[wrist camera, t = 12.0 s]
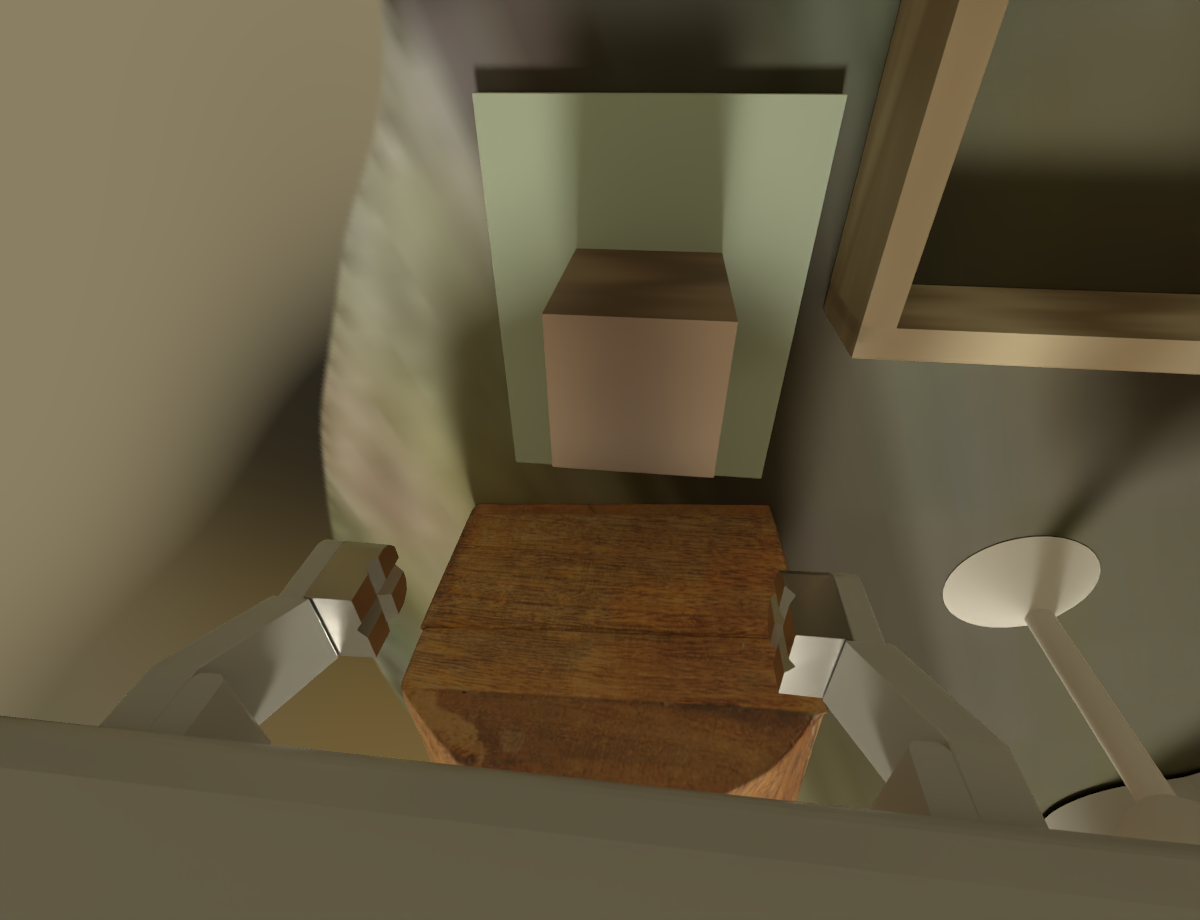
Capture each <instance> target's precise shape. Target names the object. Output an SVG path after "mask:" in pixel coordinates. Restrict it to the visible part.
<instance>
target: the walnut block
mask: <svg viewBox="0 0 1200 920" xmlns="http://www.w3.org/2000/svg"><path fill="white" fill-rule="evenodd" d="M542 322H543V337H544V351H545V366H546V380H547V395H548V409H549V424H550V438H551V453H552V467H561V468H576V469H590V470H605V471H620V472H634V473H649V474H664V475H678V476H693V477H708V478H714V472H715V465H716V459H717V453H718V446H719V440H720V434H721V427H722V421H723V414H724V408H725V402H726V395H727V389H728V383H729V376H730V370H731V364H732V357H733V351H734V345H735V338H736V332H737V325H738V320H737V315H736V311H735V307H734V302H733V298H732V293H731V289H730V285H729V280H728V276H727V272H726V267H725V263H724V258H723V254H722V253H713V252H680V251H647V250H614V249H581V248H576V250H575V252H574V254H573V256H572V257H571V259H570V261H569V263H568V265H567V267H566V269H565V271H564V273H563V275H562V277H561V278H560V280H559V282H558V284H557V286H556V288H555V290H554V292H553V294H552V296H551V297H550V299H549V301H548V303H547V305H546V307H545V309H544V311H543V313H542Z"/></svg>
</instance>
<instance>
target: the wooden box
mask: <svg viewBox="0 0 1200 920" xmlns="http://www.w3.org/2000/svg"><path fill="white" fill-rule="evenodd" d="M779 570H788V571H789V569H788V566H787V562H786V558H785V555H784V552H783V549H782V545H781V541H780V537H779V534H778V531H777V528H776V525H775V522H774V519H773V517H772V513H771V511H770V507H769V506H768V505H699V504H478V505H476V506H475V508H474V509H473V510H472V512H471V514H470V516H469V518H468V520H467V522H466V525H465V527H464V529H463V532H462V534H461V536H460V538H459V541H458V543H457V545H456V547H455V550H454V552H453V554H452V556H451V559H450V561H449V563H448V565H447V567H446V570H445V572H444V574H443V576H442V579H441V581H440V583H439V586H438V588H437V590H436V592H435V595H434V597H433V599H432V602H431V604H430V606H429V609H428V611H427V613H426V615H425V618H424V620H423V622H422V625H421V636H420V638H419V641H418V643H417V646H416V648H415V650H414V653H413V655H412V658H411V660H410V663H409V665H408V668H407V671H406V673H405V675H404V678H403V681H402V685H401V689H402V693H403V697H404V700H405V702H406V705H407V707H408V710H409V712H410V714H411V716H412V718H413V721H414V723H415V725H416V727H417V729H418V731H419V733H420V735H421V738H422V740H423V742H424V745H425V748H426V750H427V752H428V755H429V757H430V759H431V762H434V763H444V764H453V765H462V766H472V767H481V768H490V769H500V770H509V771H518V772H528V773H537V774H546V775H556V776H565V777H574V778H583V779H592V780H602V781H611V782H620V783H629V784H638V785H648V786H657V787H666V788H675V789H684V790H694V791H703V792H712V793H721V794H731V795H740V796H749V797H758V798H768V799H777V800H786V801H797V798H798V794H799V791H800V788H801V784H802V781H803V778H804V774H805V770H806V767H807V764H808V761H809V758H810V755H811V751H812V748H813V744H814V742H815V739H816V736H817V733H818V729H819V727H820V724H821V721H822V718H823V714H825V713H827V712H828V707H827V705H826V704H825V703H824V701H823V698H817V697H808V696H800V695H791V694H782V693H778V688H777V682H776V676H775V671H774V665H773V661H774V658H775V654H776V649H775V648H774V647H773V646H772V645H771V644H770V641H769V634H768V623H767V620H768V607H769V602H770V598H771V597H772V596H773V595H775V594H776V591H775V585H774V581H775V577H776V574H777V572H778V571H779Z"/></svg>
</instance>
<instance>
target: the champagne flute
mask: <svg viewBox="0 0 1200 920" xmlns="http://www.w3.org/2000/svg"><path fill="white" fill-rule="evenodd" d="M1099 575H1100V562H1099V560H1098V559H1097V557H1096V555H1095V554H1094V553H1093V552H1092V551H1091V550H1090V549H1089V548H1088V547H1086V546H1084V545H1082V544H1080V543H1078V542H1076V541H1072V540H1069V539H1065V538H1058V537H1049V536H1047V537H1028V538H1020V539H1015V540H1011V541H1007V542H1003V543H999V544H997V545H994V546H991V547H989V548H986V549H984V550H982V551H980V552H978V553H976V554H974V555H973V556H971V557H969V558H968V559H967V560H965V561H964V562H963V563H961V564H960V565H959V566H958V567H957V568H956V569H955V570H954V571H953V572H952V573H951V575H950V576H949V578H948V579H947V581H946V583H945V586H944V589H943V600H944V603H945V605H946V607H947V608H948V610H949V611H950V612H951V613H952V614H953V615H955V616H956V617H957V618H959V619H961V620H963V621H966V622H968V623H971V624H975V625H979V626H986V627H1017V626H1028V627H1029V629H1030V630H1031V632H1032V633H1033V635H1034V637H1035V638H1036V640H1037V642H1038V643H1039V645H1040V646H1041V648H1042V650H1043V651H1044V653H1045V655H1046V656H1047V658H1048V659H1049V661H1050V663H1051V664H1052V666H1053V668H1054V669H1055V671H1056V672H1057V674H1058V676H1059V677H1060V679H1061V681H1062V682H1063V684H1064V686H1065V687H1066V689H1067V690H1068V692H1069V694H1070V695H1071V697H1072V699H1073V700H1074V702H1075V703H1076V705H1077V707H1078V708H1079V710H1080V712H1081V713H1082V715H1083V716H1084V718H1085V720H1086V721H1087V723H1088V725H1089V726H1090V728H1091V729H1092V731H1093V733H1094V734H1095V736H1096V738H1097V739H1098V741H1099V742H1100V744H1101V746H1102V747H1103V749H1104V751H1105V752H1106V754H1107V755H1108V757H1109V759H1110V760H1111V762H1112V764H1113V765H1114V767H1115V768H1116V770H1117V772H1118V773H1119V775H1120V777H1121V778H1122V780H1123V781H1124V783H1125V785H1126V786H1127V788H1128V790H1129V791H1130V793H1131V794H1132V796H1133V798H1134V799H1135V801H1136V804H1135V805H1134V806H1133V807H1132V808H1130V809H1129V810H1128V811H1127V812H1126V813H1125V814H1124V815H1123V816H1122V818H1121V820H1120V822H1119V824H1118V827H1117V829H1116V831H1115V833H1114V835H1113V836H1121V837H1130V838H1139V839H1148V840H1158V841H1167V842H1176V843H1186V844H1195V845H1200V802H1198V801H1194V800H1190V799H1186V798H1181V797H1177V795H1176V794H1175V792H1174V791H1173V789H1172V788H1171V786H1170V785H1169V783H1168V782H1167V781H1166V779H1165V778H1164V776H1163V775H1162V773H1161V772H1160V770H1159V769H1158V767H1157V766H1156V764H1155V763H1154V761H1153V760H1152V758H1151V757H1150V755H1149V754H1148V752H1147V751H1146V749H1145V748H1144V746H1143V745H1142V743H1141V742H1140V741H1139V739H1138V738H1137V736H1136V735H1135V733H1134V732H1133V730H1132V729H1131V727H1130V726H1129V724H1128V723H1127V721H1126V720H1125V718H1124V717H1123V715H1122V714H1121V712H1120V711H1119V709H1118V708H1117V706H1116V705H1115V704H1114V702H1113V701H1112V699H1111V698H1110V696H1109V695H1108V693H1107V692H1106V690H1105V689H1104V687H1103V686H1102V684H1101V683H1100V681H1099V680H1098V678H1097V677H1096V675H1095V674H1094V672H1093V671H1092V669H1091V668H1090V666H1089V665H1088V664H1087V662H1086V661H1085V659H1084V658H1083V656H1082V655H1081V653H1080V652H1079V650H1078V649H1077V647H1076V646H1075V644H1074V643H1073V641H1072V640H1071V638H1070V637H1069V635H1068V634H1067V632H1066V631H1065V629H1064V628H1063V627H1062V625H1061V624H1060V622H1059V621H1058V619H1057V618H1056V617H1057V616H1058V615H1060V614H1062V613H1064V612H1065V611H1067V610H1069V609H1070V608H1072V607H1074V606H1075V605H1077V604H1078V603H1079V602H1081V601H1082V600H1083V599H1084V598H1086V596H1087V595H1088V594H1089V593H1090V592H1091V591H1092V590H1093V589H1094V587H1095V585H1096V583H1097V582H1098V580H1099Z"/></svg>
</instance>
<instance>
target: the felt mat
mask: <svg viewBox="0 0 1200 920" xmlns="http://www.w3.org/2000/svg"><path fill="white" fill-rule="evenodd" d="M472 96H473V105H474V113H475V121H476V130H477V138H478V147H479V155H480V164H481V172H482V180H483V189H484V197H485V206H486V214H487V222H488V231H489V239H490V248H491V256H492V265H493V273H494V281H495V290H496V298H497V307H498V315H499V324H500V332H501V340H502V349H503V357H504V366H505V374H506V382H507V391H508V399H509V408H510V416H511V425H512V433H513V441H514V450H515V458H516V462H524V463H539V464H552V453H551V438H550V424H549V409H548V395H547V380H546V366H545V351H544V337H543V322H542V313H543V311H544V309H545V307H546V305H547V303H548V301H549V299H550V297H551V296H552V294H553V292H554V290H555V288H556V286H557V284H558V282H559V280H560V278H561V277H562V275H563V273H564V271H565V269H566V267H567V265H568V263H569V261H570V259H571V257H572V256H573V254H574V252H575V250H576V248H581V249H614V250H647V251H680V252H713V253H722V254H723V258H724V263H725V267H726V272H727V276H728V280H729V285H730V289H731V293H732V298H733V302H734V307H735V311H736V315H737V320H738V325H737V332H736V338H735V345H734V351H733V357H732V364H731V370H730V376H729V383H728V389H727V395H726V402H725V408H724V414H723V421H722V427H721V434H720V440H719V446H718V453H717V459H716V465H715V472H714V475H715V476H730V477H745V478H759V479H761V477H762V472H763V468H764V463H765V459H766V455H767V450H768V446H769V441H770V437H771V432H772V428H773V423H774V419H775V415H776V410H777V406H778V401H779V397H780V392H781V388H782V383H783V379H784V375H785V370H786V366H787V361H788V357H789V352H790V348H791V343H792V339H793V335H794V330H795V326H796V321H797V317H798V312H799V308H800V303H801V299H802V295H803V290H804V286H805V281H806V277H807V272H808V268H809V263H810V259H811V255H812V250H813V246H814V241H815V237H816V232H817V228H818V223H819V219H820V215H821V210H822V206H823V201H824V197H825V192H826V188H827V183H828V179H829V175H830V170H831V166H832V161H833V157H834V152H835V148H836V144H837V139H838V135H839V130H840V126H841V121H842V117H843V112H844V108H845V104H846V99H847V94H842V93H565V92H476V93H472Z"/></svg>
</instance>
